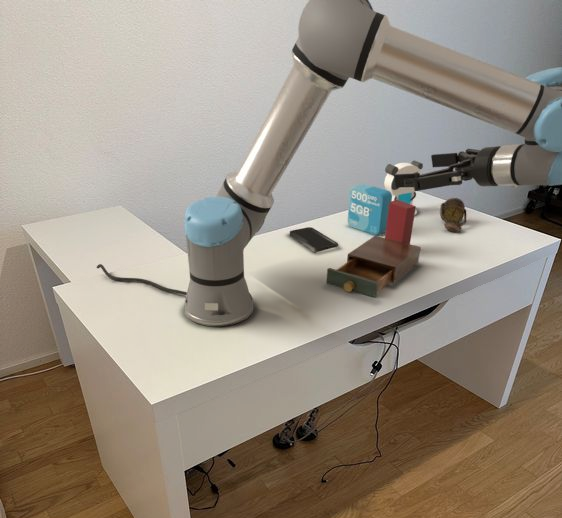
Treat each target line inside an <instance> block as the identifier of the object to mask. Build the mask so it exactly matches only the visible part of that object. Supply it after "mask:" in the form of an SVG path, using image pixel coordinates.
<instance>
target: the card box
mask: <svg viewBox="0 0 562 518" xmlns="http://www.w3.org/2000/svg"><path fill="white" fill-rule="evenodd" d="M415 209H417V207H416V205H413V204H412V205H411V204H408V203H405V202H403V201H400V200H395V201H391V202H389V210H388V217H387V225H386V231H385V233H384V238H386V239H390V240H395V241H399V242H403V243H407V244H411V240H412V235H413V234H412V233H413V227H414V221H415V216H416V215H415Z"/></svg>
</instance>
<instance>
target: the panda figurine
mask: <svg viewBox="0 0 562 518" xmlns="http://www.w3.org/2000/svg"><path fill="white" fill-rule="evenodd" d="M423 168H424V163H422V162H419V161H418V160H412V161H411V162H410V163H409V162H399V163H396V164H391V163H388V164H387V165H386V166H385V169H384V171H385V173H386V176H385V177H384V183H383V184H384V186H383V187H384V189H385V190H387V191H390V192H391V194H392V201H395V200H400V201H403V202H405V203H408V204H411V205H413V202H414V200H415V198H416V197H417V191H415V190H414V187H399V188H396V186H395V180H394V175H396V174H413V173H416V172H418V173H420V174H421V170H423ZM416 215H418V210H417V208H415V215H414V216H416Z"/></svg>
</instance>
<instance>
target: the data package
mask: <svg viewBox="0 0 562 518" xmlns="http://www.w3.org/2000/svg"><path fill="white" fill-rule="evenodd" d="M391 201H392V194H391V192H390V191H387V190H386V189H385V188H384V189H383V188H380V187H376V186H373V185H369V184H366V183H361V184H358V185H355V186H352V187H351V188H350V190H349V200H348V210H347V211H348V212H347V224H348V226H349V227H351V228H354V229H356V230H359V231H362V232H365V233H368V234H371V235H374V236H378V235H380V234H382V233H384V232H385V233H386V225H387V217H388V210H389V202H391Z"/></svg>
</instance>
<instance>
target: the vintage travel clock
mask: <svg viewBox="0 0 562 518" xmlns="http://www.w3.org/2000/svg"><path fill="white" fill-rule="evenodd" d="M439 216H440V219H441V220H442V221H443V222H444V224H443V226H444V228H445V229H446V230H447V231H448V232H453V233H457V232H461V231H462V227H463V226H465V224H466V223H467V209H466V206H465V203H464V201H463V200H462V199H460V198H458V197H450V198H449V199H446V200H445V201H444V202H442V203H441V204H440V210H439ZM462 220H463V222H461V221H462Z"/></svg>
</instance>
